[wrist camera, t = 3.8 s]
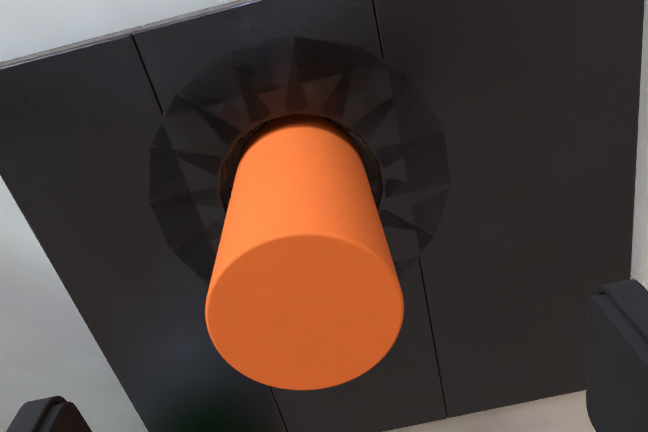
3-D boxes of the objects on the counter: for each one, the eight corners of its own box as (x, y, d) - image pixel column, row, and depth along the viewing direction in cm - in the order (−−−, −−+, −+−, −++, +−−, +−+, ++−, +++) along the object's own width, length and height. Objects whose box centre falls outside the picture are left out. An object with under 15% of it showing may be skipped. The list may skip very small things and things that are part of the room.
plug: (258, 240, 20) (239, 407, 13) (221, 131, 18) (174, 259, 11) (373, 213, 20) (418, 370, 13) (348, 99, 18) (386, 210, 11)
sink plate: (178, 446, 25) (172, 475, 24) (-28, 69, 17) (-56, 81, 15) (607, 357, 24) (626, 382, 22) (619, -100, 15) (650, -103, 14)
